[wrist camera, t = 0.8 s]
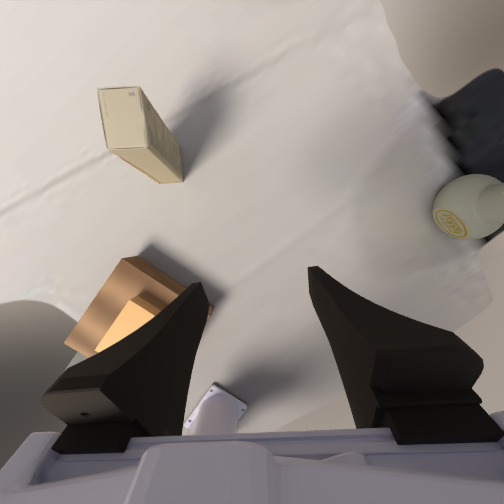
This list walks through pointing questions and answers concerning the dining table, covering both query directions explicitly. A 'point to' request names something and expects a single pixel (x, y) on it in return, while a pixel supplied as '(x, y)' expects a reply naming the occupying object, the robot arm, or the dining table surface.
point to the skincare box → (139, 133)
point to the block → (128, 321)
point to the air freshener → (470, 207)
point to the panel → (122, 301)
